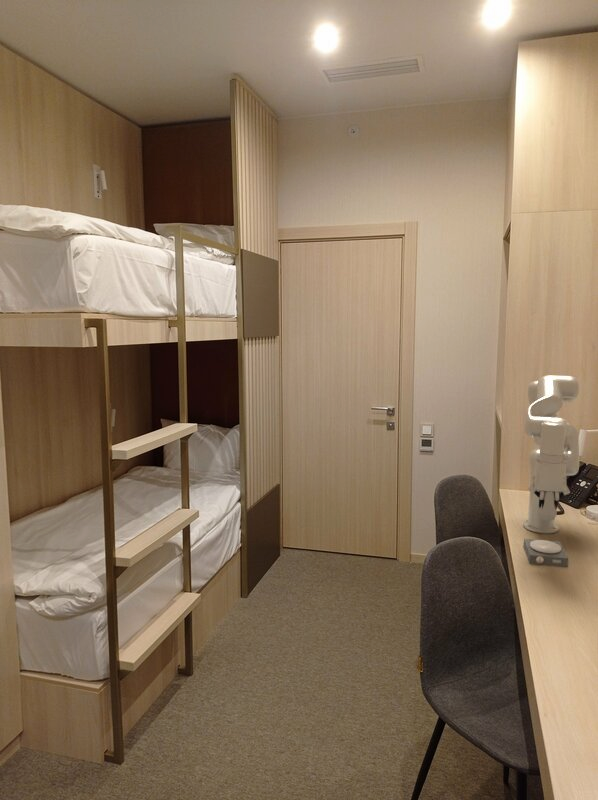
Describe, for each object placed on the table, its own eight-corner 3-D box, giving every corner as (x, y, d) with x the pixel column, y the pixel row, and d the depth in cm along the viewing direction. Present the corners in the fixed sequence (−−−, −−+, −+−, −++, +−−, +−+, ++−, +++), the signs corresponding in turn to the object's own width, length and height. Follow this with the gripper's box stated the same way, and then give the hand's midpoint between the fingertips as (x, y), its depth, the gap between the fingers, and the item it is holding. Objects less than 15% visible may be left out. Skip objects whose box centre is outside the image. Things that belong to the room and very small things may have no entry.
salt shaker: (545, 522, 196) (548, 485, 194) (534, 516, 201) (536, 480, 199) (560, 520, 197) (562, 483, 195) (548, 514, 203) (551, 478, 201)
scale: (523, 546, 210) (524, 536, 209) (559, 549, 207) (559, 539, 206) (529, 563, 196) (530, 553, 195) (567, 567, 193) (568, 556, 193)
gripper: (574, 456, 198) (571, 508, 201) (523, 454, 201) (520, 504, 204) (580, 462, 190) (576, 515, 193) (527, 459, 194) (523, 512, 197)
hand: (547, 509), depth 199 cm, fingers closed on salt shaker, 3 cm apart
